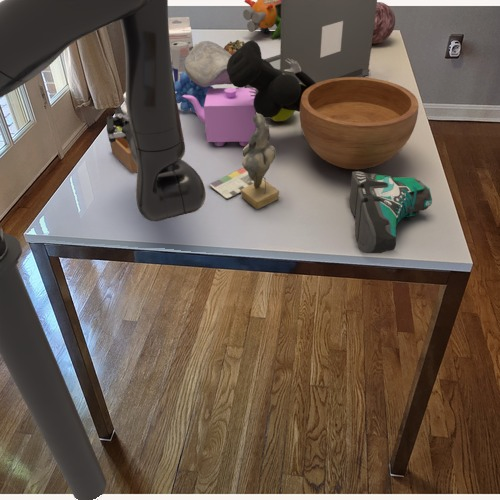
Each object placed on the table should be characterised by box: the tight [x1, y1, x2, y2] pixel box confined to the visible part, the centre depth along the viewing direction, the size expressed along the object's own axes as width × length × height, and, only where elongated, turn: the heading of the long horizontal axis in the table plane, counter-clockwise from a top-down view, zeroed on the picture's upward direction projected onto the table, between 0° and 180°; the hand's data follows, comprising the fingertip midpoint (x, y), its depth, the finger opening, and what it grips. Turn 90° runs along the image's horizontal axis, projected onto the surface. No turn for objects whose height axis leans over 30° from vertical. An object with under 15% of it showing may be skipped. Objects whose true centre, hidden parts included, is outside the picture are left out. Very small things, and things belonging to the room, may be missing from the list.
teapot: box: [182, 87, 257, 147], centre depth 127 cm, size 20×10×12 cm, turn 88°
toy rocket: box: [242, 0, 281, 40], centre depth 188 cm, size 14×25×15 cm
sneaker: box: [349, 170, 433, 254], centre depth 100 cm, size 9×24×15 cm
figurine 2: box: [209, 113, 280, 210], centre depth 106 cm, size 10×14×20 cm
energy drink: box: [170, 41, 190, 83], centre depth 154 cm, size 5×5×12 cm
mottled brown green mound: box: [223, 39, 246, 55], centre depth 174 cm, size 11×11×5 cm
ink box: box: [168, 16, 194, 71], centre depth 163 cm, size 8×5×15 cm, turn 98°
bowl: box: [299, 76, 419, 170], centre depth 116 cm, size 25×25×15 cm
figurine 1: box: [227, 40, 316, 119], centre depth 119 cm, size 14×12×30 cm
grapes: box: [174, 72, 214, 114], centre depth 139 cm, size 12×7×12 cm, turn 77°
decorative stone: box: [184, 40, 233, 87], centre depth 128 cm, size 15×10×15 cm
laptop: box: [244, 0, 378, 88], centre depth 151 cm, size 35×28×28 cm
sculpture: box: [372, 1, 396, 44], centre depth 174 cm, size 17×17×30 cm
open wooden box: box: [109, 137, 137, 174], centre depth 124 cm, size 11×11×5 cm
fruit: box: [270, 108, 296, 122], centre depth 135 cm, size 9×9×10 cm
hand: (136, 108), depth 105 cm, fingers closed on pill bottle, 6 cm apart
